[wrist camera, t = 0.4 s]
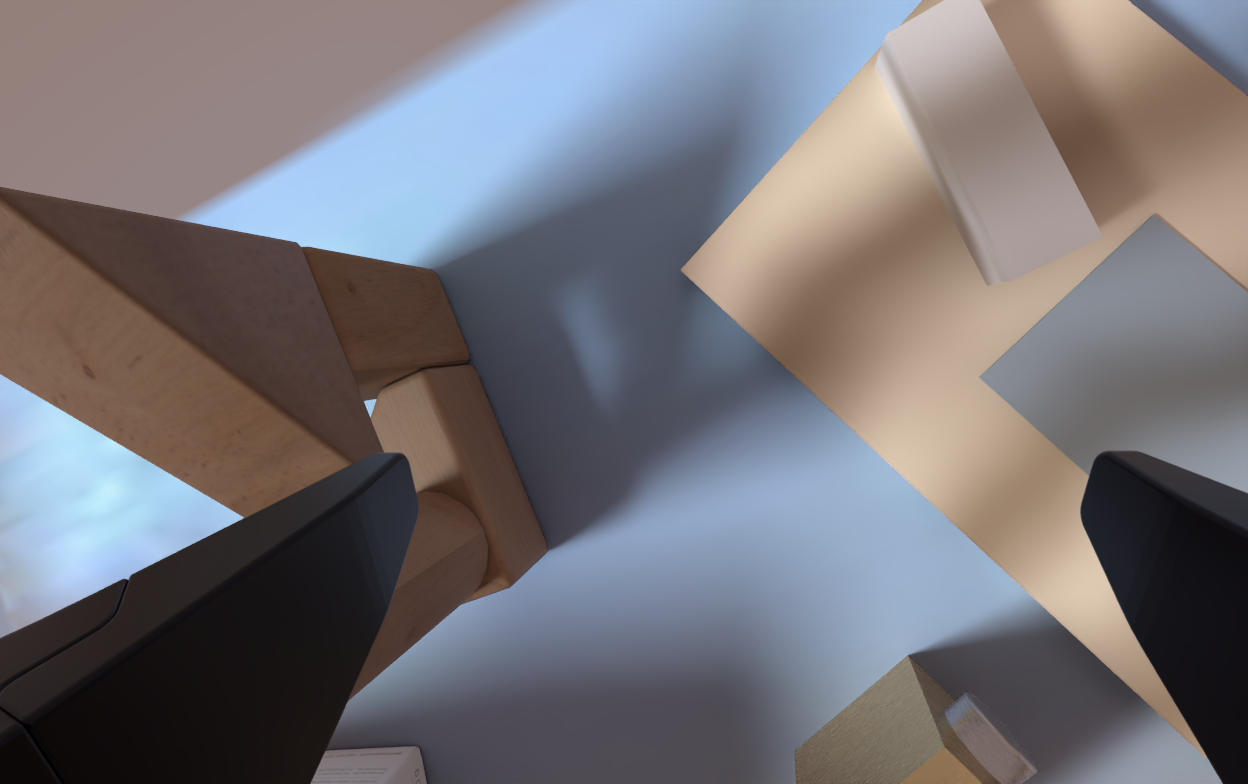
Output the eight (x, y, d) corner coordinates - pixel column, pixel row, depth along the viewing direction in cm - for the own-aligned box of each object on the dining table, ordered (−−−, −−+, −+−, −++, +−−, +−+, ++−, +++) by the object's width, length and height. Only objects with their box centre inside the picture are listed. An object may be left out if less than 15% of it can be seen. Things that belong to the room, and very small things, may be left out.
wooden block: (439, 266, 24) (-464, 87, 7) (554, 549, 24) (-48, 1133, 6) (354, 307, 25) (-643, 248, 7) (465, 581, 25) (-276, 1172, 7)
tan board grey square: (1781, 557, 17) (2008, 607, 14) (1317, 860, 20) (1419, 959, 16) (996, -74, 19) (1038, -152, 16) (684, 272, 22) (669, 262, 19)
